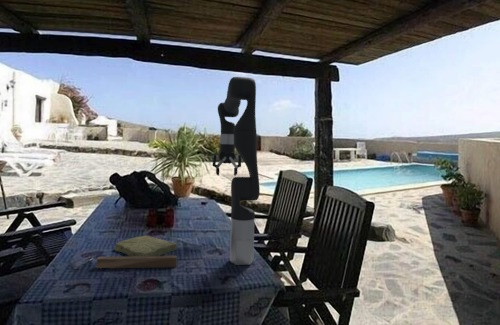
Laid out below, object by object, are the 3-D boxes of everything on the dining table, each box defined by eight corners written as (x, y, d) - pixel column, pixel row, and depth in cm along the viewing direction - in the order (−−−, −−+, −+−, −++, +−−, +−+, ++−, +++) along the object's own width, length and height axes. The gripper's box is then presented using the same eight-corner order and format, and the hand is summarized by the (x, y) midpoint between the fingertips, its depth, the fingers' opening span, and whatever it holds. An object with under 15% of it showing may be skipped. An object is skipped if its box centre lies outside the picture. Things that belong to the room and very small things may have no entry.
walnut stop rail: (176, 266, 138) (176, 257, 138) (97, 268, 134) (96, 259, 134) (176, 264, 141) (176, 255, 140) (98, 266, 136) (98, 257, 136)
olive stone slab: (144, 241, 170) (145, 233, 169) (177, 250, 159) (177, 242, 159) (110, 251, 154) (110, 243, 154) (143, 262, 143) (143, 253, 143)
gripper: (214, 143, 181) (213, 176, 182) (242, 143, 184) (242, 176, 185) (212, 142, 188) (211, 174, 189) (239, 143, 191) (239, 174, 193)
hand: (226, 175), depth 187 cm, fingers open, 8 cm apart
